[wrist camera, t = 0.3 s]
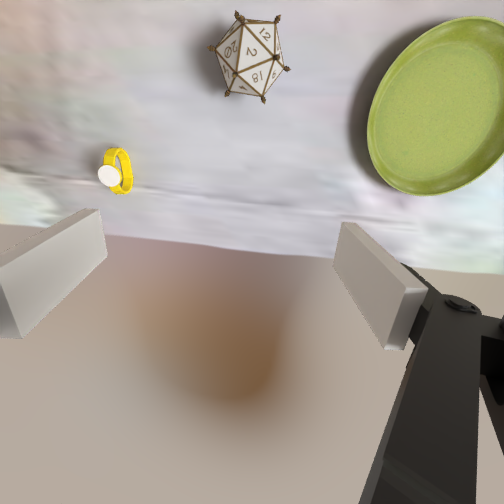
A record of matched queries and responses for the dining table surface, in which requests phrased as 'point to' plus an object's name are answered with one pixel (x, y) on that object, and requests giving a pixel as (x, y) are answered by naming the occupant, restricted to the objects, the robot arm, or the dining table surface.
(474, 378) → the robot arm
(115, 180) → the watch
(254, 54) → the game die
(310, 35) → the dining table surface
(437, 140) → the saucer
